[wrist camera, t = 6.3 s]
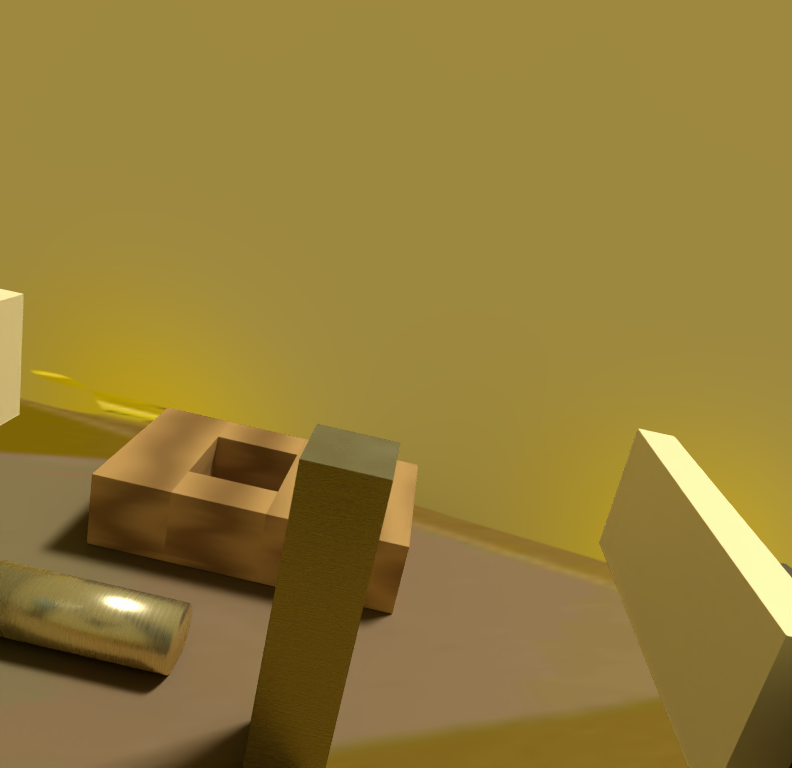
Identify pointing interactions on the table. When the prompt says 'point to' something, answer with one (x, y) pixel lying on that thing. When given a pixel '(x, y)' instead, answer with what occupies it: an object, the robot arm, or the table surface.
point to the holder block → (224, 501)
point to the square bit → (319, 596)
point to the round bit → (92, 618)
